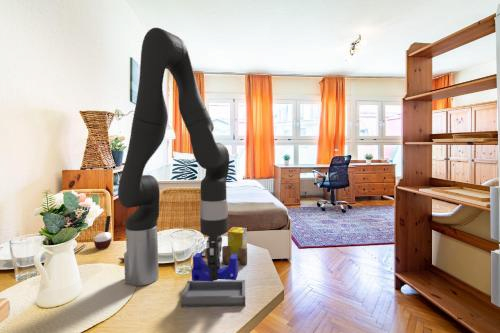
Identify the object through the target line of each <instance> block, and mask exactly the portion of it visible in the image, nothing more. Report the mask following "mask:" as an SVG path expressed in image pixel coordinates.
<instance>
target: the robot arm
mask: <svg viewBox="0 0 500 333" xmlns="http://www.w3.org/2000/svg"><path fill="white" fill-rule="evenodd" d="M143 37H144V38H143V40H142V44H141V50H140V65H139V79H138V89H137V95H136V100H135V101H136V102H135V108H134V111H133V117H132V123H131V130H130V137H129V142H128V148H127V152H126V153H127V154H126V156H125V158H126V159H125V162H124V165H123V167H122V172H121V175H120V178H119V182H118V186H117V188H118V189H117V195H118V196H117V197H118V202H119V203H120V205H121V206H123V207H124V208H128V209H129V208H131V209H132V208H136V207H137V209H136V210H135V211H134V212H133V213H132V214H131V215H129V216H128V217H126V219H125V239H126V240H125V244H126V246H125V247H126V250H125V252H124V253H123V259H124V261H123V263H124V284H129V285H131V286H136V287H138V286H139V287H140V286H147V285H150V284H151V283H152V284H153V282H154V283H155V281H157V280H158V278H159V276H160V275H159V249H158V248H159V246H158V242H159V241H158V239H159V238H158V219H159V216H160V196H161V195H160V185H159V182H158V180H157V178H155V177H154V175H151V174H144V170H145V167H146V166H147V163H149V160H150V159H151V157H153V156H154V154H155V153H156V152H157V150H158V149H159V148H160V147H161V144H162V143H163V141H164V138H165V135H166V130H167V126H168V120H169V117H168V116H169V114H168V109H167V104H166V100H165V96H164V92H163V91H164V90H163V83H164V76H165V71H166V70H168V71H169V72H170V74H171V75H172V77H173V80H174V81H175V84H176V87H177V94H178V96H177V97H178V100H177V101H178V110H179V113H180V116H181V119H182V121H183V123H184V125H185V128H186V130H187V132H188V134H189V138H190V140H189V141H190V144H191V148H192V153H193V157H194V159H195V161H196V162H197V164H198V165H199V166H200V167H201V168H203V169H204V170H205V173H204V174H205V175H204V177H203V178H202V180H201V181H200V206H199V218H200V219H199V222H200V224H199V226H200V233H201V234H202V235H203V236H207V240H206V243H205V244H206V248H207V250H206V251H207V261H208V265H207V266H208V268H210V280H214V281H219V279H218V269H221V259H220V258H221V257H222V247H223V245H222V244H223V237H222V235H225V234H227V233H228V231H229V218H228V217H229V216H228V213H229V212H228V201H227V200H228V199H227V179H228V174H229V168H230V153H229V149H228V148H227V147H226V146H225V145H224V144H223V143H220V142H216V140H215V137H214V135H213V131H214V128H215V127H214V122H213V121H212V119H211V118H212V117H211V116H210V114H209V111H208V110H207V106H206V105H205V102H204V100H203V98H202V95H201V92H200V90H199V87H198V83H197V80H196V76H195V72H194V68H193V65H192V61H191V58H190V57H191V56H190V54H189V50H188V48H187V44H185V42H184V40H183V39H181V38H180V37H179V36H178V35H176V34H173V33H171V32H169V31H167V30H165V29H163V28H160V27H152V28H151V29H149V30H147V32H146V34H145V36H143ZM211 261H212V262H211Z"/></svg>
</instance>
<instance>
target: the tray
mask: <svg viewBox="0 0 500 333" xmlns="http://www.w3.org/2000/svg"><path fill="white" fill-rule="evenodd" d="M180 300H181V301H180V302H181V305H180V306H181V308H203V307H204V308H206V307H207V308H209V307H212V308H214V307H220V308H221V307H246V280H245V279H244V280H243V279H242V280H237V279H236V280H214V281H213V282H210V281H192V280H187V283H186V285H185V288H184V290H183V292H182V296H181V298H180Z"/></svg>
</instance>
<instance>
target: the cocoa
mask: <svg viewBox="0 0 500 333" xmlns="http://www.w3.org/2000/svg"><path fill="white" fill-rule="evenodd" d="M110 223H111V215H107V216H106V221H105V226H104V231H103V232H100V233H98V234H97V235H95V236H94V237H93V243H94V247H95V248H96V249H97V250H104V249H107V248H109V247H110V245H111V242H112V233H111V232H109V229H110Z"/></svg>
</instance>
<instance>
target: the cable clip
mask: <svg viewBox="0 0 500 333" xmlns="http://www.w3.org/2000/svg"><path fill="white" fill-rule="evenodd" d="M192 262H193V263H192V269H191V281H210V282H213V281H215V280H210V268H208V266H207V264H206V263H205V262H204V260H203V256H202V252H196V253H195V254H194V255H193V256H192ZM238 265H239V261H238V258H237V254H232V256H231V258H230V263H229V264H228V265H225V267H222V268H221V267H220V269H218V280H223V281H227V280H237V278H238V275H239V272H238V271H239V270H238V269H239V268H238V267H239V266H238Z"/></svg>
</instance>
